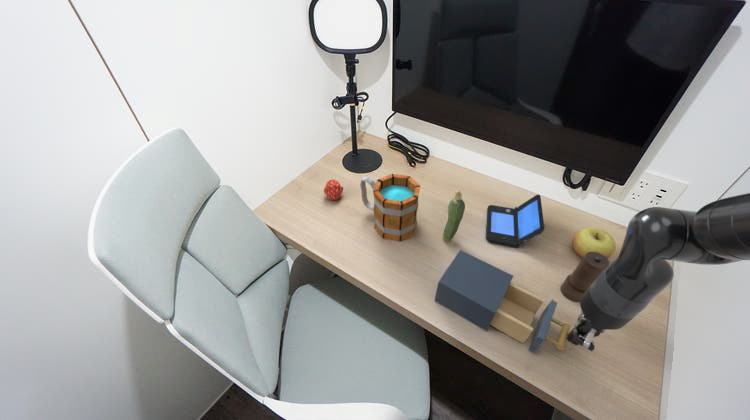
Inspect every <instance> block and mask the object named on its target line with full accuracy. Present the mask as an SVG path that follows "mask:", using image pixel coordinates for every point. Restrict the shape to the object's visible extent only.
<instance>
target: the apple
mask: <svg viewBox="0 0 750 420" xmlns="http://www.w3.org/2000/svg"><path fill="white" fill-rule="evenodd" d="M571 243H572V249H573V251H574V253H575V254H576V255H577V256H578V257H579V258H581V260H582V259H583V258H584V256H585V255H586V254H587V253H588V252H598V253H600V254H602V255H604V256H605V257H606V258H607V259H608V260H609V259H610V258H611V257H612V255H614V253H615V251H616V241H615V239H614V238H613V236H612V235H611V234H610V233H609V232H608V231H606V230H604V229H603V228H602V229H601V228H599V227H593V226H591V227H585V228H582V229H580V230H578V231H577V232H576V233H575V234H574V237H573V239H572V241H571Z"/></svg>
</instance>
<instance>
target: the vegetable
mask: <svg viewBox="0 0 750 420" xmlns="http://www.w3.org/2000/svg"><path fill="white" fill-rule="evenodd" d="M465 210H466V204H465V201H464V200H463V196H462V192H461V191H460V190H459V189H457V190H456V192H455V193H454V198H452V199H451V200H450V201H449V202H448V206H447V221H446V223H445V225H444V230H443V233H442V239H443V240H444V241H446V242H451V240H453V239H454V237H455V236H456V234H457V232H458V230H459V226H460V224H461V222H462V219H463V217H464V214H465Z"/></svg>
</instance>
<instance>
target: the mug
mask: <svg viewBox="0 0 750 420" xmlns="http://www.w3.org/2000/svg"><path fill="white" fill-rule="evenodd" d="M366 183H367V184H368V185H369V186H370V188H371V189H372V193H373V199H374V200H373V204H372V203H370V201H369V199H368V192H367V191H368V190H367V185H366ZM359 185H360V191H361V200H362V203H363V206H364V207H365V208H367V209H368V210H372V211H373V216H374V226H373V228H374V230H375V231H376V232H377V234H378V235H379V236H380V237H381V238H382V239H383V240H388V241H393V242H402V241H405V240H407V239H409V238H411V237H413V236H415V233H416V227H417V223H418V222H417V215H418V210H419V197H420V191H421V185H420V184H419V183H418V182H417V181H416V180H415V179H414V178H413V177H411V176H410V175H404V174H397V173H391V174H388V175H385V176H383V177H381V178H378V179H376V181H375V180H374V179H373V178H371V177H370V176H363V177H362V178H361V180H360V182H359Z"/></svg>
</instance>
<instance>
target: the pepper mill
mask: <svg viewBox="0 0 750 420" xmlns="http://www.w3.org/2000/svg"><path fill="white" fill-rule="evenodd" d="M610 265H611V263H610V260H609V259H607V258H606V257H605V256H604V255H602V254H600V253H598V252H588V253H587V254H586V255H585V256H584V258H583V259H582V258H581V260H580V262H579V263H578V264H577V266H575V269H574V270H573V271H572V272H571V273H569V274H568V275H567V277H566V278H565V279H564V280H563V282H562V283H561V285H560V292H561V294H562V295H563V297H565V298H566V299H567V300H569V301H571V302H574V303H580V299H581V296H582V295H583V294H584V293H585V292H586V290H587V289H588V288H589V287H590V286H591V285H592V283H593V282H594V281H595V280H596V279H597V278H598V276H599V275H601V274H602V273H603V272H604V271H606V270H607V268H608V267H609V266H610Z"/></svg>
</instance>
